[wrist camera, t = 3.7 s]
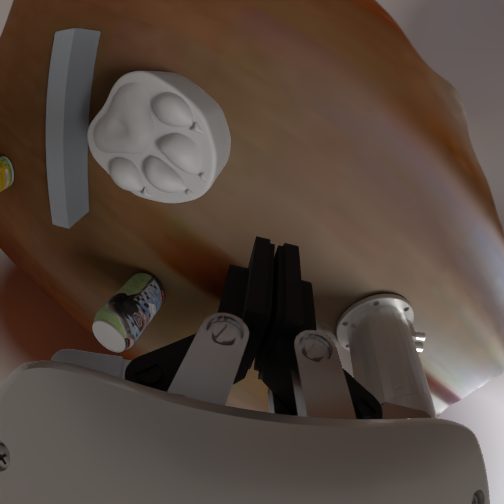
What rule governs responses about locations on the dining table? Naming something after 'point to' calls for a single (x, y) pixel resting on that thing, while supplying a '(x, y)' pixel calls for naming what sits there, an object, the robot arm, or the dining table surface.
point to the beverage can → (128, 312)
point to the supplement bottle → (6, 173)
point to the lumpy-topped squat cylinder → (160, 137)
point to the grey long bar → (69, 123)
